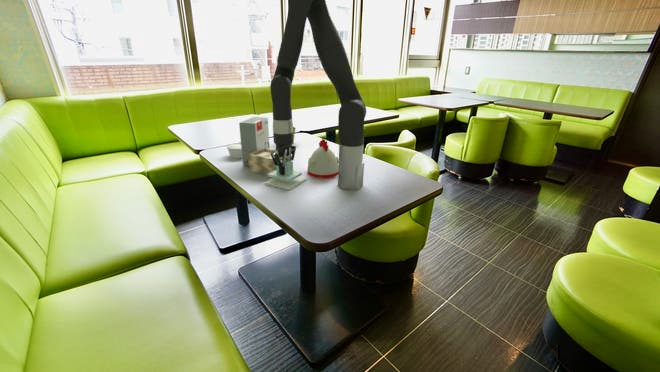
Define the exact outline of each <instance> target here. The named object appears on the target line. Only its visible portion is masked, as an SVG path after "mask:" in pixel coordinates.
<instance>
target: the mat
mask: <svg viewBox="0 0 660 372" xmlns="http://www.w3.org/2000/svg"><path fill="white" fill-rule="evenodd" d="M305 181H307V178H305V177H301V176H299V177H297V178H295V179H294V180H292V181H290V182H288V181H284V180H280V179H276V178H272V177H271V179H268V180H267V181H265V182H264V183H263V184H264V185H267V186H270V187H275V188H279V189H283V190H286V191H290V190H292V189H294V188H295V187H297V186H299V185H300V184H302V183H303V182H305Z"/></svg>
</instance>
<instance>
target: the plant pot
mask: <svg viewBox="0 0 660 372" xmlns="http://www.w3.org/2000/svg"><path fill="white" fill-rule="evenodd" d="M296 130H297V127H295V126H293V143H292V144H294V141H295V135H296V134H295V133H296Z"/></svg>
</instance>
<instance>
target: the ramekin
mask: <svg viewBox="0 0 660 372" xmlns="http://www.w3.org/2000/svg"><path fill="white" fill-rule="evenodd" d="M227 151H228V153H229V157H231V158H232V159H242V149H241V142H237V143H232V144H229V145H227Z"/></svg>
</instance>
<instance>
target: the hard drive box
mask: <svg viewBox="0 0 660 372" xmlns="http://www.w3.org/2000/svg"><path fill="white" fill-rule="evenodd" d="M238 124H239V125H238V126H239V137H240V143H241V149H242V158H241V159H242V165H243V166H248V167H249V159H248V154H250V153H252V152H255V151H258V150H260V149H263V148H268V149H271V148H270V146H271V145H270V131H269V117H262V116H253V117H250V118H248V119H246V120H243V121H240V122H239V123H238Z"/></svg>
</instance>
